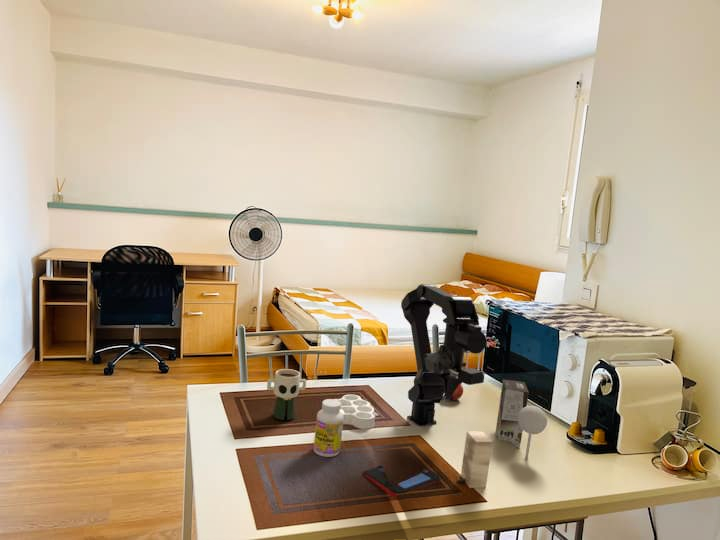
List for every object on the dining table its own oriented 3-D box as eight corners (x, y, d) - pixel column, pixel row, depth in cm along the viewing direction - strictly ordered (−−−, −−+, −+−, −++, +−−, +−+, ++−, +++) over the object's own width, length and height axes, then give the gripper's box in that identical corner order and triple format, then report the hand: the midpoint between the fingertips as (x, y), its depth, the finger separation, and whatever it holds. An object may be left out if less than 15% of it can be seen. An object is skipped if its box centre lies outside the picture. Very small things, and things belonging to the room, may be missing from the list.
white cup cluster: (321, 405, 157) (366, 404, 162) (335, 431, 140) (385, 429, 145) (322, 394, 157) (367, 394, 161) (336, 419, 140) (386, 418, 144)
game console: (406, 461, 128) (407, 453, 128) (443, 487, 118) (444, 477, 118) (360, 475, 119) (361, 466, 119) (396, 503, 109) (397, 494, 109)
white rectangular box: (452, 476, 120) (458, 431, 118) (476, 475, 121) (482, 431, 120) (461, 487, 115) (467, 441, 113) (485, 487, 116) (492, 441, 115)
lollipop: (540, 458, 136) (548, 405, 134) (540, 471, 129) (549, 414, 128) (512, 452, 138) (520, 399, 136) (511, 463, 132) (519, 408, 130)
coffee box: (520, 448, 141) (529, 392, 139) (496, 443, 142) (505, 388, 140) (517, 434, 150) (525, 381, 148) (495, 430, 151) (502, 378, 149)
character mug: (265, 422, 140) (269, 377, 138) (263, 412, 147) (266, 368, 145) (305, 422, 143) (309, 377, 142) (300, 411, 150) (304, 368, 148)
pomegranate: (448, 410, 169) (473, 393, 170) (437, 392, 168) (462, 375, 169) (442, 403, 176) (465, 387, 177) (431, 386, 176) (455, 370, 177)
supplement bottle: (308, 453, 126) (313, 403, 124) (320, 442, 132) (325, 395, 130) (333, 460, 124) (338, 410, 122) (344, 449, 130) (349, 401, 128)
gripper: (409, 335, 141) (403, 390, 142) (458, 355, 125) (450, 415, 127) (438, 333, 147) (432, 385, 149) (489, 351, 132) (481, 409, 134)
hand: (447, 398), depth 139 cm, fingers closed
